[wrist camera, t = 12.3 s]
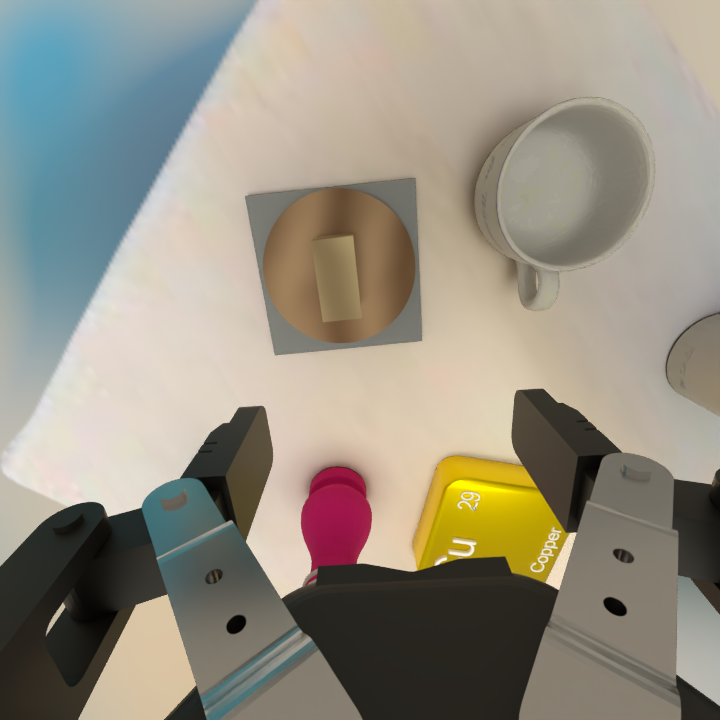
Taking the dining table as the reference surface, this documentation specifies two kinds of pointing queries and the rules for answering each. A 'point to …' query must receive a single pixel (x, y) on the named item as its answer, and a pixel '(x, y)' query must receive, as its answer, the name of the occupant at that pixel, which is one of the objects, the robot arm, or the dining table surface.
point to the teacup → (565, 191)
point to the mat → (283, 334)
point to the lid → (339, 265)
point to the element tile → (487, 518)
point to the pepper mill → (335, 519)
